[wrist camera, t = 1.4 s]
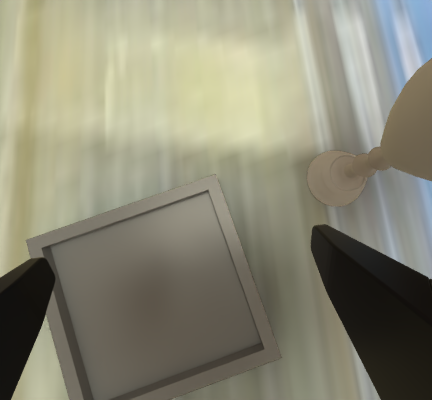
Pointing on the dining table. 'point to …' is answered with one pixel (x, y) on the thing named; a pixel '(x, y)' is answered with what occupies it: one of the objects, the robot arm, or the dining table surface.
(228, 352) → the tray
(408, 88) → the chalice
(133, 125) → the dining table surface
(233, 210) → the dining table surface
